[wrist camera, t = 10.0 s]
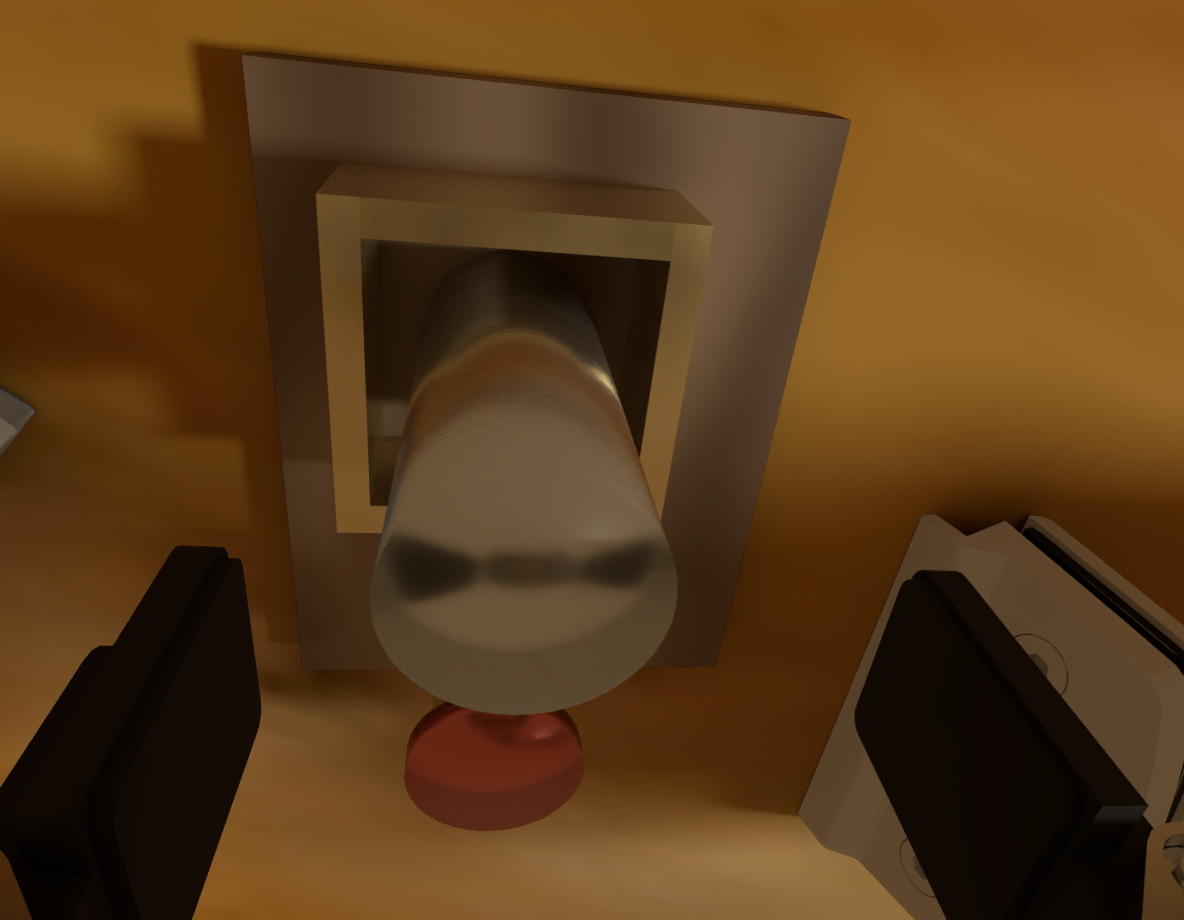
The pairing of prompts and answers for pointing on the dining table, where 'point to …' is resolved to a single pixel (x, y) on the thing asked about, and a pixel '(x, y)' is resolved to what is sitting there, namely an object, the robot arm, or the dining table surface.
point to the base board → (567, 153)
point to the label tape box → (12, 418)
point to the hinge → (1064, 655)
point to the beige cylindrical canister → (518, 504)
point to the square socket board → (368, 458)
